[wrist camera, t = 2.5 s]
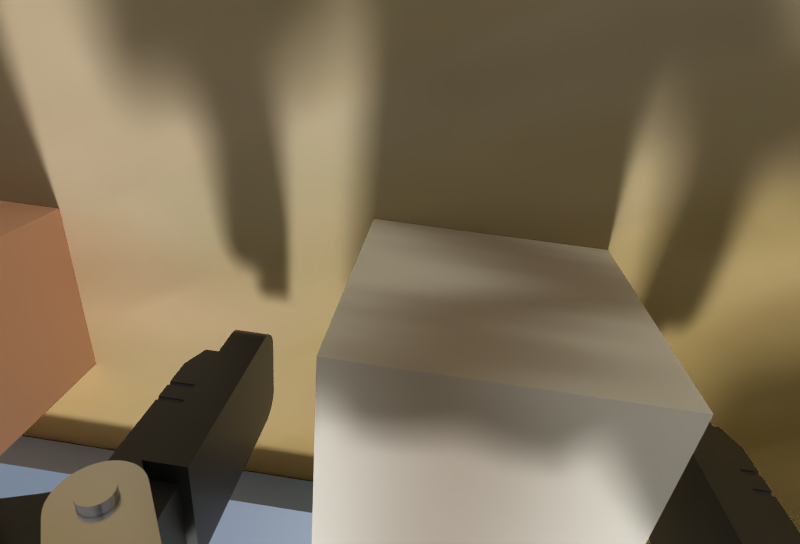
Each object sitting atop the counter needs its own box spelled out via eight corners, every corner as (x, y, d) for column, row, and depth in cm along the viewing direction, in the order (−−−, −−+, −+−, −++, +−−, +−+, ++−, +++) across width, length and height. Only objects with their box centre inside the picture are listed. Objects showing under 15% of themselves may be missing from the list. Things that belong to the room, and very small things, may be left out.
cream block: (606, 248, 11) (713, 414, 6) (541, 449, 13) (583, 664, 9) (374, 217, 11) (316, 356, 6) (357, 421, 14) (309, 617, 9)
